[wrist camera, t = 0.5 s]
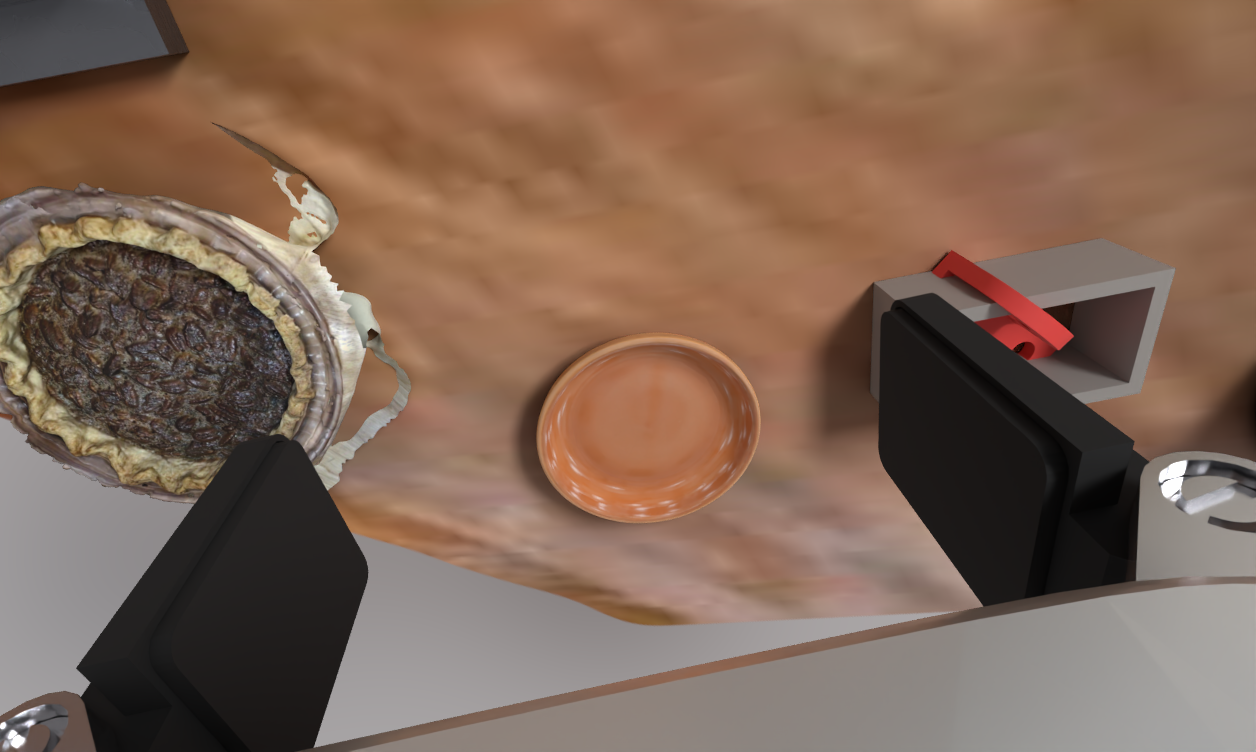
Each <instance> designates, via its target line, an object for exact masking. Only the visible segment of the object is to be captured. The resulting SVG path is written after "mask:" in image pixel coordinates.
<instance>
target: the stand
mask: <svg viewBox="0 0 1256 752" xmlns="http://www.w3.org/2000/svg"><path fill="white" fill-rule="evenodd" d="M186 52H189V50H188V48H187V46H186V44H185V42H184V39H183V37H182V35H181V33H180V31H179V28H178V26H177V24H176V22H175V20H174V17H173V15H172V13H171V11H170V9H169V6H168V4H167V2H166V0H0V87H6V86H11V85H16V84H21V83H27V82H32V81H37V80H43V79H48V78H53V77H59V76H64V75H69V74H75V73H80V72H85V71H91V70H96V69H101V68H106V67H112V66H117V65H122V64H128V63H133V62H138V61H144V60H149V59H154V58H160V57H165V56H170V55H176V54H181V53H186Z"/></svg>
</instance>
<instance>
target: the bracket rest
mask: <svg viewBox="0 0 1256 752" xmlns="http://www.w3.org/2000/svg"><path fill="white" fill-rule="evenodd" d="M974 264H975V265H977V266H978V267H980V268H982V269H983V270H985V271H987V272H988V273H990V274H992V275H993V276H995V277H996V278H998V279H999V280H1001V281H1003V282H1004V283H1006V284H1007V285H1009V286H1010V287H1011V288H1013V289H1014V290H1016V291H1017V292H1019V293H1020V294H1022V295H1023V296H1024V297H1026V298H1027V299H1029V300H1030V301H1031V302H1033V303H1034V304H1035V305H1037V306H1038V307H1039V308H1041V309H1042V308H1048V307H1053V306H1058V305H1063V304H1068V303H1073V302H1075V305H1074V310H1073V315H1072V320H1071V325H1070V330H1069V331H1070V332H1071V333H1072V334H1073V336H1074V337H1073V338H1072V339H1071V340H1070V341H1068V342H1067V343H1066V344H1065V345H1064V346H1063V347H1062V348H1061V349H1060V350H1059V351H1058V350H1056V351H1055V352H1054V353H1053V354H1052V355H1051V356H1048V357H1043V358H1037V359H1032V360H1026V359H1025V358H1023V357H1022V356H1020V355H1019V354H1018V353H1016V354H1018V355H1019V356H1020V357H1022V358H1023V359H1024V360H1026V361H1027V362H1029V363H1030V364H1031V365H1033V366H1034V367H1035V368H1037V369H1038V370H1039V371H1041V372H1042V373H1043V374H1045V375H1046V376H1047V377H1049V378H1050V379H1051V380H1053V381H1054V382H1055V383H1057V384H1058V385H1059V386H1061V387H1062V388H1063V389H1065V390H1066V391H1067V392H1069V393H1070V394H1072V395H1073V396H1074V397H1076V398H1077V399H1078V400H1080V401H1081V402H1082V403H1084V404H1086V403H1091V402H1096V401H1102V400H1107V399H1112V398H1117V397H1122V396H1127V395H1132V394H1138V393H1140V392H1141V388H1142V385H1143V381H1144V378H1145V374H1146V371H1147V367H1148V364H1149V360H1150V357H1151V353H1152V350H1153V346H1154V343H1155V339H1156V336H1157V332H1158V329H1159V325H1160V322H1161V318H1162V315H1163V311H1164V308H1165V304H1166V301H1167V297H1168V294H1169V290H1170V287H1171V283H1172V280H1173V276H1174V273H1175V269H1176V268H1174V267H1171V266H1169V265H1166V264H1164V263H1162V262H1159V261H1157V260H1154V259H1152V258H1149V257H1147V256H1144V255H1142V254H1140V253H1137V252H1135V251H1132V250H1130V249H1127V248H1125V247H1122V246H1120V245H1117V244H1115V243H1113V242H1110V241H1108V240H1105V239H1103V238H1101V239H1095V240H1090V241H1085V242H1080V243H1075V244H1070V245H1064V246H1059V247H1054V248H1049V249H1044V250H1038V251H1033V252H1028V253H1023V254H1018V255H1012V256H1007V257H1002V258H997V259H992V260H987V261H981V262H976V263H974ZM927 293H935V294H937V295H938V296H940V297H941V298H943V299H944V300H945V301H947V302H948V303H949V304H951V305H952V306H953V307H955V308H956V309H957V310H959V311H960V312H961V313H963V314H964V315H965V316H967V317H968V318H969V319H971V320H972V321H973V322H975V321H980V320H986V319H991V318H996V317H1001V316H1006V315H1011V314H1010V313H1009V312H1008V311H1006V310H1005V309H1004V308H1003V307H1001V306H1000V305H999V304H997V303H996V302H995V301H993V300H992V299H990V298H989V297H987V296H986V295H984V294H983V293H981V292H980V291H978V290H977V289H975V288H974V287H972V286H971V285H969V284H968V283H966V282H965V281H963V280H962V279H960V278H959V277H957V276H956V275H955V276H949V277H944V278H939V277H938V276H936V275H935V274H933V273H932V271H929V272H924V273H919V274H914V275H909V276H903V277H898V278H893V279H888V280H883V281H878V282H874V290H873V320H872V350H871V380H870V393H871V394H872V395H873V397H874V398H875V399H876V400H877V401H878V403H879V379H880V322H881V316H882V314H883V313H884V312H887V311H890V308H891V306H892V303H893V302H894V301H895V300H899V299H904V298H908V297H913V296H918V295H922V294H927Z"/></svg>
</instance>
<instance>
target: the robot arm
mask: <svg viewBox="0 0 1256 752" xmlns="http://www.w3.org/2000/svg"><path fill="white" fill-rule="evenodd" d="M1133 445H1134V441H1133V440H1132V439H1131V438H1129V437H1128V436H1127V435H1125V434H1124V433H1123V432H1121V431H1120V430H1119V429H1117V428H1116V427H1115V426H1113V425H1112V424H1111V423H1109V422H1108V421H1106V420H1105V419H1104V418H1102V417H1101V416H1100V415H1098V414H1097V413H1096V412H1094V411H1093V410H1092V409H1090V408H1089V407H1088V406H1086V405H1085V404H1084V403H1082V402H1081V401H1080V400H1078V399H1077V398H1076V397H1074V396H1073V395H1072V394H1070V393H1069V392H1067V391H1066V390H1065V389H1063V388H1062V387H1061V386H1059V385H1058V384H1057V383H1055V382H1054V381H1053V380H1051V379H1050V378H1049V377H1047V376H1046V375H1045V374H1043V373H1042V372H1041V371H1039V370H1038V369H1037V368H1035V367H1034V366H1033V365H1031V364H1030V363H1029V362H1027V361H1026V360H1024V359H1023V358H1022V357H1020V356H1019V355H1018V354H1016V353H1015V352H1014V351H1012V350H1011V349H1010V348H1008V347H1007V346H1006V345H1004V344H1003V343H1002V342H1000V341H999V340H998V339H996V338H995V337H994V336H992V335H991V334H990V333H988V332H987V331H986V330H984V329H983V328H981V327H980V326H979V325H977V324H976V323H975V322H973V321H972V320H971V319H969V318H968V317H967V316H965V315H964V314H963V313H961V312H960V311H959V310H957V309H956V308H955V307H953V306H952V305H951V304H949V303H948V302H947V301H945V300H944V299H943V298H941V297H940V296H938V295H937V294H935V293H927V294H922V295H918V296H913V297H908V298H904V299H899V300H895V301H894V302H893V303H892V306H891V308H890V311H887V312H884V313H883V314H882V316H881V322H880V379H879V441H878V448H879V455H880V459H881V462H882V464H883V467H884V468H885V470H886V472H887V473H888V474H889V476H890V477H891V479H892V480H893V481H894V483H895V484H896V485H897V487H898V488H899V490H900V491H901V492H902V494H903V495H904V497H905V498H906V499H907V501H908V502H909V504H910V505H911V506H912V508H913V509H914V510H915V512H916V513H917V515H918V516H919V517H920V519H921V520H922V522H923V523H924V524H925V526H926V527H927V528H928V530H929V531H930V533H931V534H932V535H933V537H934V538H935V540H936V541H937V542H938V544H939V545H940V546H941V548H942V549H943V551H944V552H945V553H946V555H947V556H948V558H949V559H950V560H951V562H952V563H953V565H954V566H955V567H956V569H957V570H958V571H959V573H960V574H961V576H962V577H963V578H964V580H965V581H966V583H967V584H968V585H969V587H970V588H971V589H972V591H973V592H974V594H975V595H976V596H977V598H978V599H979V601H980V602H981V603H982V605H983V606H984V607H980V608H974V609H969V610H964V611H959V612H953V613H948V614H943V615H938V616H932V617H927V618H923V619H917V620H912V621H908V622H903V623H898V624H893V625H888V626H883V627H879V628H874V629H869V630H865V631H859V632H855V633H850V634H845V635H840V636H836V637H830V638H826V639H821V640H816V641H811V642H806V643H802V644H797V645H792V646H787V647H782V648H778V649H773V650H768V651H763V652H758V653H754V654H748V655H744V656H739V657H734V658H729V659H724V660H720V661H715V662H710V663H705V664H701V665H696V666H691V667H686V668H682V669H677V670H672V671H668V672H663V673H658V674H653V675H649V676H644V677H639V678H635V679H630V680H626V681H621V682H616V683H612V684H606V685H602V686H597V687H593V688H588V689H583V690H578V691H574V692H569V693H564V694H560V695H555V696H550V697H546V698H541V699H536V700H531V701H527V702H522V703H517V704H513V705H509V706H503V707H499V708H494V709H490V710H485V711H480V712H475V713H471V714H467V715H462V716H457V717H453V718H448V719H443V720H439V721H434V722H430V723H426V724H421V725H416V726H411V727H407V728H402V729H398V730H393V731H389V732H384V733H379V734H375V735H370V736H366V737H361V738H357V739H352V740H347V741H343V742H339V743H334V744H329V745H325V746H321V747H316V748H314V745H315V742H316V738H317V735H318V732H319V729H320V726H321V723H322V720H323V717H324V714H325V711H326V708H327V704H328V701H329V698H330V695H331V692H332V689H333V686H334V683H335V680H336V676H337V674H338V670H339V667H340V664H341V661H342V658H343V655H344V652H345V649H346V646H347V643H348V640H349V636H350V633H351V630H352V627H353V624H354V620H355V618H356V615H357V612H358V608H359V605H360V602H361V599H362V596H363V593H364V590H365V587H366V584H367V579H368V566H367V562H366V559H365V557H364V555H363V553H362V551H361V550H360V548H359V546H358V544H357V543H356V541H355V539H354V537H353V535H352V534H351V532H350V530H349V528H348V526H347V525H346V523H345V521H344V519H343V518H342V516H341V514H340V512H339V510H338V509H337V507H336V505H335V503H334V501H333V500H332V498H331V496H330V494H329V493H328V491H327V489H326V487H325V485H324V484H323V482H322V480H321V478H320V477H319V475H318V473H317V471H316V469H315V468H314V466H313V464H312V462H311V460H310V459H309V457H308V455H307V453H306V452H305V450H304V448H303V447H302V445H301V444H300V443H299V442H298V441H296V440H289V439H288V438H287V437H286V436H284V435H282V434H274V435H270V436H265V437H261V438H256V439H251V440H247V441H243V442H240V443H239V444H238V445H237V446H236V447H235V449H234V450H233V452H232V453H231V454H230V456H229V457H228V458H227V460H226V461H225V463H224V464H223V465H222V467H221V468H220V470H219V471H218V472H217V474H216V475H215V476H214V478H213V479H212V481H211V482H210V483H209V485H208V486H207V488H206V489H205V490H204V492H203V493H202V494H201V496H200V497H199V499H198V500H197V501H196V503H195V504H194V506H193V507H192V508H191V510H190V511H189V513H188V514H187V515H186V517H185V518H184V520H183V521H182V522H181V524H180V525H179V526H178V528H177V529H176V531H175V532H174V533H173V535H172V536H171V538H170V539H169V540H168V542H167V543H166V544H165V546H164V547H163V549H162V550H161V551H160V553H159V554H158V556H157V557H156V558H155V560H154V561H153V562H152V564H151V565H150V567H149V568H148V569H147V571H146V572H145V573H144V575H143V576H142V578H141V579H140V580H139V582H138V583H137V585H136V586H135V587H134V589H133V590H132V592H131V593H130V594H129V596H128V597H127V599H126V600H125V601H124V603H123V604H122V605H121V607H120V608H119V609H118V611H117V612H116V614H115V615H114V616H113V618H112V619H111V621H110V622H109V623H108V625H107V626H106V628H105V629H104V630H103V632H102V633H101V634H100V636H99V637H98V639H97V640H96V641H95V643H94V644H93V646H92V647H91V648H90V650H89V651H88V652H87V654H86V655H85V657H84V658H83V659H82V661H81V662H80V664H79V665H78V666H77V668H76V669H77V670H78V671H79V672H80V673H82V674H83V675H84V676H85V677H86V678H87V679H88V680H89V681H90V682H91V683H90V685H89V686H88V688H87V689H86V691H85V692H84V694H83V695H82V696H81V697H80V696H79V695H78V694H75V693H71V692H67V691H63V692H55V693H48V694H45V695H42V696H40V697H37V698H35V699H32V700H29V701H26V702H25V703H23V704H21V705H19V706H17V707H16V708H14V709H12V710H10V711H8V712H6V713H5V714H3V715H1V716H0V752H1256V462H1253V461H1251V460H1247V459H1243V458H1239V457H1235V456H1231V455H1226V454H1222V453H1212V452H1202V451H1188V452H1174V453H1170V454H1167V455H1163V456H1160V457H1156V458H1155V459H1154V460H1152V461H1151V462H1149V461H1147V460H1146V459H1145V458H1144V457H1142V456H1141V455H1140V454H1138V453H1137V452H1136V451H1134V450H1133Z"/></svg>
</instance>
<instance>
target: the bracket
mask: <svg viewBox="0 0 1256 752" xmlns="http://www.w3.org/2000/svg"><path fill="white" fill-rule="evenodd" d="M932 273H933V274H935V275H936V276H938V277H939V278H944V277H949V276H955V275H956V276H957V277H959V278H960V279H962V280H963V281H965V282H966V283H968V284H969V285H971V286H972V287H974V288H975V289H977V290H978V291H980V292H981V293H983V294H984V295H986V296H987V297H989V298H990V299H992V300H993V301H995V302H996V303H997V304H999V305H1000V306H1001V307H1003V308H1004V309H1005V310H1006V311H1008V312H1009V313H1010V314H1011V315H1006V316H1001V317H996V318H991V319H986V320H980V321H975V323H976V324H977V325H979V326H980V327H981V328H983V329H984V330H986V331H987V332H988V333H990V334H991V335H992V336H994V337H995V338H996V339H998V340H999V341H1000V342H1002V343H1003V344H1004V345H1006V346H1007V347H1008V348H1010V349H1011V350H1013V349H1014V348H1015V347H1016V346H1017V345H1018V344H1020V343H1022V342H1025V344H1024V347H1023V349H1022V350H1021V351H1020V352H1019V353H1018V354H1019V355H1020V356H1022V357H1023V358H1025V359H1026V360H1032V359H1037V358H1043V357H1048V356H1051V355H1052V354H1053V353H1054V352H1055V351H1056V350H1058V351H1059V350H1060V349H1061V348H1062V347H1063V346H1064V345H1065V344H1066V343H1067V342H1068V341H1070V340H1071V339H1072V338H1073V337H1074V336H1073V334H1072V333H1071V332H1070V331H1068V330H1067V329H1066V328H1065V327H1064V326H1063V325H1061V324H1060V323H1059V322H1058V321H1056V320H1055V319H1054V318H1053V317H1051V316H1050V315H1049V314H1047V313H1046V312H1045V311H1044V310H1042V309H1041V308H1039V307H1038V306H1037V305H1035V304H1034V303H1033V302H1031V301H1030V300H1029V299H1027V298H1026V297H1024V296H1023V295H1022V294H1020V293H1019V292H1017V291H1016V290H1014V289H1013V288H1011V287H1010V286H1009V285H1007V284H1006V283H1004V282H1003V281H1001V280H999V279H998V278H996V277H995V276H993V275H992V274H990V273H988V272H987V271H985V270H983V269H982V268H980V267H978V266H977V265H975V264H974V263H972V262H970V261H969V260H967V259H965V258H964V257H962V256H961V255H959V254H957V253H956V252H954V251H952V250H951V252H950V253H949V254H948V255H947V256H946V257H945V258H944V259H943V260H942V261H941V262H940V264H939V265H938V266H937V267H936V268H935V269H934V270H933V271H932Z"/></svg>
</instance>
